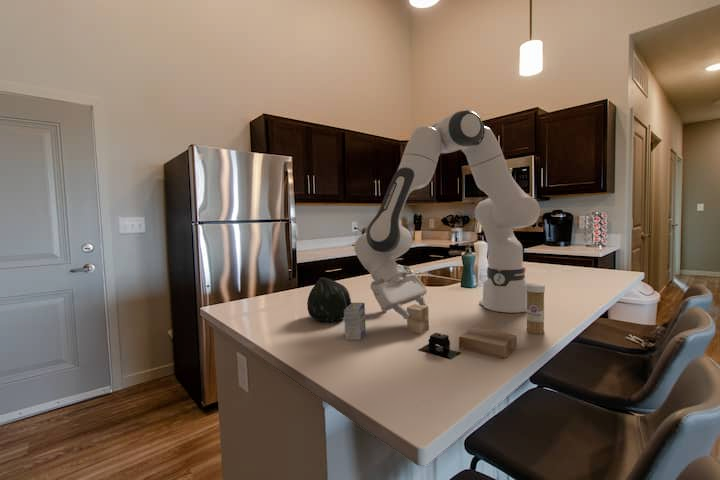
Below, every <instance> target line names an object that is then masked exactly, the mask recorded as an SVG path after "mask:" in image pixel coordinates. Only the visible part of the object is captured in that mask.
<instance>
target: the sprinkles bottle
mask: <svg viewBox="0 0 720 480" xmlns="http://www.w3.org/2000/svg"><path fill="white" fill-rule="evenodd" d="M527 283H528V282H527ZM526 290H527V312H526V328H525V329H526V331H527V332H528V333H531V334H535V335H538V334H539V335H541V334H543V333H545V323H544V322H545V292H546V286H545V284H543V283H538V282H529V283H528V284H527V285H526Z"/></svg>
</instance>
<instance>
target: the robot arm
mask: <svg viewBox="0 0 720 480" xmlns="http://www.w3.org/2000/svg"><path fill="white" fill-rule="evenodd" d="M457 151H461V152H462V153H463V154H464V155H465V156H466V160H467V163H468V167H469V170H470V171H471V174H472V176H473V180H474V182H475V184H476V186H477V188H478V189H479V190H480V191H482V192H484V194H485V195H487V197H488V198H486V199H484V200H481V201H480V202H479V203H477V205H476V207H475V209H474V218H475V221H477V223H479V225H480V226H481V228H482V230H483V233H484V236H485V239H486V240H485V241H486V243H487V253H488V254H487V257H488V258H487V261H488V263H487V264H488V266H487V269H486V277H487V279H486V280H485V281H484V282H483V288H482V299H481V300H479V302H478V304H479V305H481V306H483V307H484V308H485V309H486V310H487V309H488V310H490V311H493V312H500V313H527V290H526V285H527V284H528V282H527V280H526V279H525V277H526V275H525V274H526V270H527V269H526V267H525V266H524V267H523V265H524V264H523V258H524V256H523V255H524V254H523V253H524V252H523V251H524V250H523V245H522V243H521V242H520V241H519V240H518V238H517V237H516V236H515V233H514V230H513V229H522V228H527V227H531V226H533V225H535V224H536V222H538V219H539V218H540V215H541V208H540V207H541V206H540V204H539V202H538V201H537V199H535V198H534V197H532V196H530V195H529V194H527V193H526V192H525V191H524V190H523V189H522V188H521V187H520V186H519V184H518V183H517V182H516V180H515V178H513V176H512V173H511V172H510V169H509V166H508V165H507V162H506V158H505V156H504V153H503V151H502V148H501V146H500V144H499V142H498V139H497V137H496V135H495V134H494V133H493V131H492V129H491V128H490V127H488V126H485V124H484V123H483V120H482V118H481V117H480V116H479V114H477V113H476V112H475V111H473V110H470V109H463V110H460V111H459V110H458V111H457V112H455V113H453V114H450V115H448V116H446V117H444V118H443V119H442V120H440V121H439V122H437V123H435V124H433V125H432V126H430V125H421V126H418V127H416V128H415V129H414V130H413V132H412V134H411V135H410V137H409V139H408V141H407V144H406V146H405V149H404V151H403V154H402V157H401V160H400V163H399V165H398V168H397V169H396V172H395V173H394V175H393V177H392V179H391V181H390V183H389V185H388V188H387V190H386V192H385V195H384V198H383V199H382V202H381V205H380V207H379V210H378V211H377V213H376V215H375V216H374V217H373V219H372V220H371V221H370V222H369V224H368V226H367V228H366V232H364V233H363V234H361V235H360V236H359V237H358V238H356V239H357V240H355V243H354V246H353V248H354V252H355V255H356V257H357V258H358V260H359V262H360V263H361V265H362V266H363V267H364V269H365V270H366V271H368V272H369V274H370V276H371V278H372V279H373V281H372V282H371V283H370V289H371V291H372V292H373V293H372V295H374V298H375V299H376V301H377V303H378V304H379V306H380V309H381V308H382V309H384V310H385V311H386V312H387V311H390V310H392V309H393V310H394V312H395V313H397V314H399V315H401V317H402V318H403V319H404V320H407V319H408V318H409V317H410V316H411V314H410V313H409V311H408V310H407V309H405V308H404V307H402V306H403V305H406V304H409V303H411V302H414V301H416V302H417V303H418V305H423V306H428V305H427V303H426V300H425V297H424V296H425V295H426V294H427V292H428V290H427V288H426V286H425V285H424V283H423V282H422V281H421V279H420V278H419V277H418V276H417V275H416V274H414V270H413V269H412V268H411V267H410V266H407V265H401V264H399V263H397V262H396V261H395V260H396V259H398V258H400V257H402V256H403V255H404V254H405V253H407V252H408V251H409V250H410V249H411V247H412V245H413V236H412V233H411V232H410V230H409V229H408V228H407V227H405V226H403V225H401V224H400V217H401V215H402V212H403V209H404V208H405V205H406V203H407V200H408V198H409V195H410V194H411V193H412V192H413V191H415V190H420V189H422V188H425V187H427V186H428V185H429V183H430V182H431V180H432V179H433V176H434V174H435V173H436V172H435V171H436V168H437V165H438V163H439V162H438V161H439V157H440V155H446V154H450V153H454V152H457Z"/></svg>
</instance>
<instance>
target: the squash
mask: <svg viewBox="0 0 720 480" xmlns="http://www.w3.org/2000/svg"><path fill="white" fill-rule="evenodd" d="M348 290H349V289H348V288H347V287H346V286H344V285H343V284H341V283H339V282H337V281H336V280H333V279H331V278H327V277H319V278H318V280H317V281H316V283H315V284H314V286H313V287H312V289H311V290H310V292H309V294H308V297H307V303H306V306H307V311H308V314H309V316H310V318H311V319H314V320H316V321H319V322H323V323H324V322H326V321H327V322H330V323H332V322H334V321H341V320H344V310H345V309H346V308H347V307H348V305H349V304H350V303H352V299H351V296H350V292H349V291H348Z"/></svg>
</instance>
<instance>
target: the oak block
mask: <svg viewBox="0 0 720 480" xmlns="http://www.w3.org/2000/svg"><path fill="white" fill-rule="evenodd" d="M407 310H408V311H409V313H410V314H411V316H410V317H409V318H408V319H406V323H407V325H406V327H407V328H406V330H407V332H410V333H413V334H414V333H415V334H418V335H422V334H423V333H426V332H428V331H429V330H430V329H429V328H430V325H429V323H430V322H429V317H430V316H429V306H428V305H427V306H423V305H420V304H417V303H416V304H412V305H409V306H408V307H406V311H407Z"/></svg>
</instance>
